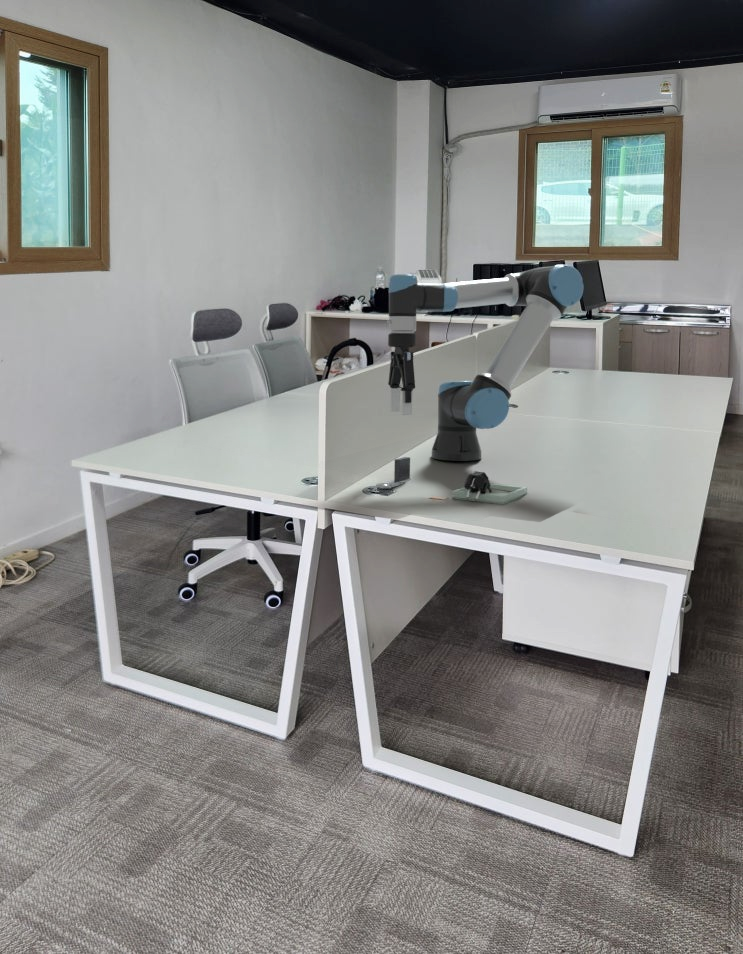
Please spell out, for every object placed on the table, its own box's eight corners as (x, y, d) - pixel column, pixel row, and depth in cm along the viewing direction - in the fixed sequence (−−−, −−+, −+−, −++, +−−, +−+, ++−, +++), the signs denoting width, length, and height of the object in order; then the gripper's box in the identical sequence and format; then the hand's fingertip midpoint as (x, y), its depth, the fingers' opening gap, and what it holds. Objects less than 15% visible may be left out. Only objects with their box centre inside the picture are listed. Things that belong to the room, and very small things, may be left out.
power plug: (501, 490, 224) (487, 468, 215) (493, 516, 221) (478, 495, 212) (481, 487, 227) (466, 465, 218) (473, 513, 224) (457, 492, 215)
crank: (386, 489, 225) (386, 464, 224) (373, 488, 228) (373, 462, 226) (413, 482, 238) (414, 457, 237) (401, 480, 240) (401, 456, 239)
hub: (378, 489, 233) (379, 486, 233) (401, 492, 230) (401, 488, 229) (365, 493, 227) (365, 489, 227) (388, 495, 224) (388, 492, 224)
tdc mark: (431, 497, 222) (431, 496, 222) (445, 499, 220) (445, 498, 220) (429, 498, 221) (429, 497, 221) (443, 500, 219) (443, 499, 219)
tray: (478, 489, 234) (478, 482, 234) (527, 494, 227) (527, 487, 227) (452, 498, 221) (452, 490, 221) (503, 504, 214) (503, 496, 213)
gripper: (378, 332, 246) (377, 409, 249) (400, 332, 223) (399, 417, 227) (403, 332, 247) (402, 409, 251) (428, 332, 225) (426, 416, 229)
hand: (400, 413), depth 239 cm, fingers open, 11 cm apart
